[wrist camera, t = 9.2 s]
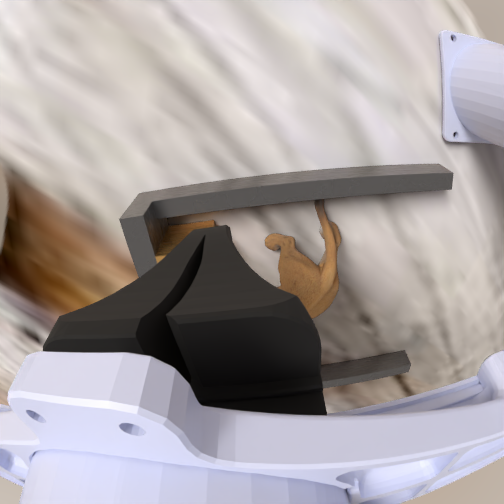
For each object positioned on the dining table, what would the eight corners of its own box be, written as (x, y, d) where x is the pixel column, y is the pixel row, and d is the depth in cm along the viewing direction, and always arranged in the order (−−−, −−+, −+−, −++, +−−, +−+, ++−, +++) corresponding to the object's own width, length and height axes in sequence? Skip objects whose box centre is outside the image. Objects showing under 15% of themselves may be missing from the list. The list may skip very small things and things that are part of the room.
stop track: (438, 163, 20) (469, 183, 16) (402, 357, 30) (414, 386, 27) (139, 193, 21) (119, 219, 17) (202, 383, 31) (198, 415, 28)
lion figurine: (272, 346, 28) (280, 433, 21) (215, 332, 27) (207, 423, 20) (350, 199, 21) (403, 276, 14) (278, 173, 20) (299, 242, 13)
